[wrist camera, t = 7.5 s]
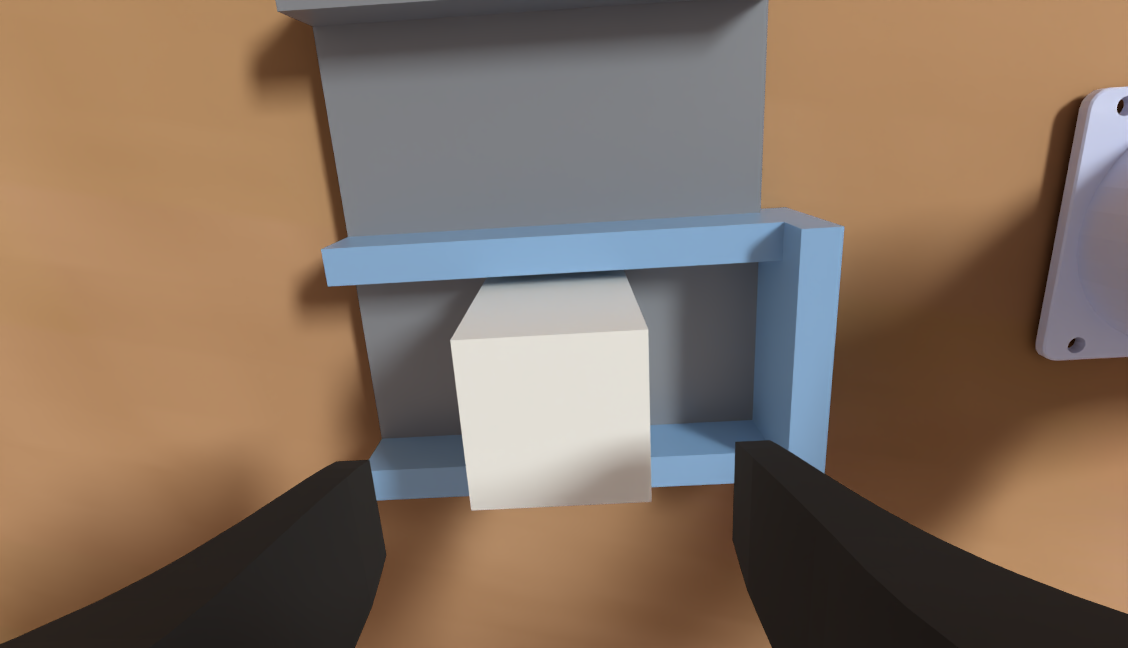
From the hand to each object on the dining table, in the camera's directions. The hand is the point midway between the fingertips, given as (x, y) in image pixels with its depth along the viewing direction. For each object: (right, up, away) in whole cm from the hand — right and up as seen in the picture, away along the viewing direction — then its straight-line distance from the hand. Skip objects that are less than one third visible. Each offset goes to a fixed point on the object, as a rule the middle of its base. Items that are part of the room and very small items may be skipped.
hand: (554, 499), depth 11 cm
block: (0, +3, +8) cm, 8 cm away
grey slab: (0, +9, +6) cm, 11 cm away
